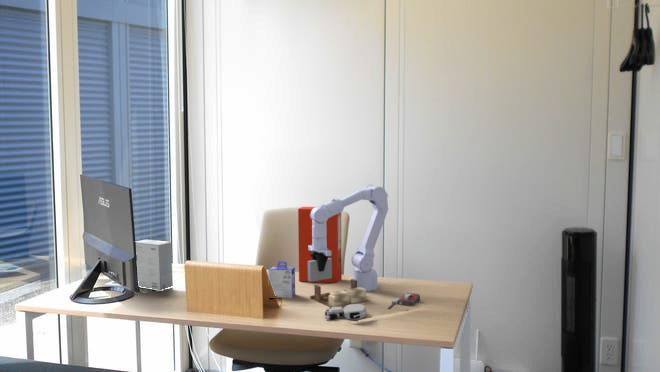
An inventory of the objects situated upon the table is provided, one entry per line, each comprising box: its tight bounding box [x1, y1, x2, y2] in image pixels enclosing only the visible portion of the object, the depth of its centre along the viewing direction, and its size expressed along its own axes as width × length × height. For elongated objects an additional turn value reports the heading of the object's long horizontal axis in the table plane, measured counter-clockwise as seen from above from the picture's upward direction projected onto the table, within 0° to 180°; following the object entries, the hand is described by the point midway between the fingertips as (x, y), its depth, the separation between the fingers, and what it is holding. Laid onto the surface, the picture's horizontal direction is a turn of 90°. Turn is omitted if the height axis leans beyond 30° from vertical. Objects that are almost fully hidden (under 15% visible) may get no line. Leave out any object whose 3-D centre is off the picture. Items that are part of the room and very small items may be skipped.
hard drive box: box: [135, 239, 174, 290], centre depth 301 cm, size 16×8×20 cm, turn 58°
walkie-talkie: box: [387, 292, 421, 310], centre depth 272 cm, size 9×4×20 cm
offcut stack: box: [328, 287, 367, 307], centre depth 274 cm, size 15×4×4 cm, turn 122°
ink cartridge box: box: [268, 260, 296, 299], centre depth 284 cm, size 10×6×14 cm, turn 78°
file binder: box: [297, 206, 343, 284], centre depth 311 cm, size 8×17×32 cm, turn 76°
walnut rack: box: [309, 278, 372, 308], centre depth 278 cm, size 18×16×7 cm
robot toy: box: [324, 302, 367, 322], centre depth 257 cm, size 12×4×15 cm
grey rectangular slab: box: [308, 258, 332, 283], centre depth 286 cm, size 10×2×8 cm, turn 122°
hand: (319, 270), depth 286 cm, fingers closed on grey rectangular slab, 2 cm apart
